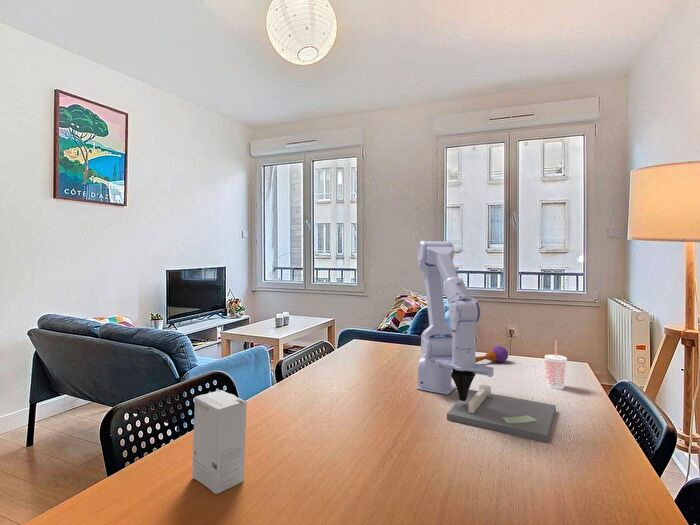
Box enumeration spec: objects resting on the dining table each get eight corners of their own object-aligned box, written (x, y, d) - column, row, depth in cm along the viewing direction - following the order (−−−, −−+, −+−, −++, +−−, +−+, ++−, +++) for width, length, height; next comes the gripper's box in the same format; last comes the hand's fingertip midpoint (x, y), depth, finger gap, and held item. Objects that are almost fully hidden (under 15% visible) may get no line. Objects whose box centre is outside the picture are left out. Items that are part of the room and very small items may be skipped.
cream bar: (480, 392, 113) (480, 384, 113) (492, 394, 112) (492, 386, 111) (464, 411, 100) (464, 401, 100) (477, 414, 98) (477, 404, 98)
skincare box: (191, 478, 73) (190, 396, 73) (221, 465, 78) (220, 388, 78) (217, 496, 68) (216, 408, 68) (247, 481, 73) (247, 398, 72)
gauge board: (446, 419, 99) (446, 412, 99) (469, 394, 116) (469, 388, 116) (546, 442, 88) (546, 434, 88) (555, 411, 105) (555, 404, 105)
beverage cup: (544, 388, 122) (545, 341, 121) (543, 382, 128) (544, 337, 127) (567, 391, 120) (568, 343, 119) (565, 384, 125) (566, 339, 125)
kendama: (455, 353, 147) (498, 344, 155) (458, 370, 147) (501, 360, 154) (465, 354, 142) (510, 345, 150) (468, 372, 141) (513, 361, 149)
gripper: (431, 346, 105) (430, 398, 106) (489, 354, 97) (488, 410, 98) (440, 341, 111) (440, 390, 112) (495, 348, 103) (495, 401, 104)
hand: (463, 399), depth 105 cm, fingers closed
